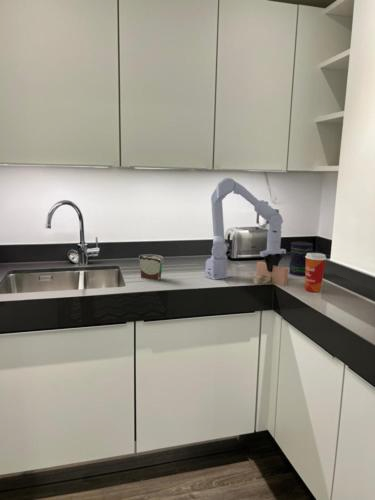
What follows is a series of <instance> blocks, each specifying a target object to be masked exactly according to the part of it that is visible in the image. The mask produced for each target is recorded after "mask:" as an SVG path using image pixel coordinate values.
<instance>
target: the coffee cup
mask: <svg viewBox="0 0 375 500" xmlns="http://www.w3.org/2000/svg"><path fill="white" fill-rule="evenodd" d="M305 258H306V271H305V276H304V278H305V279H304V282H305V283H304V290H305V292H309V293H315V294H316V293H317V294H318V293H320V292H321V290H322V285H323V284H322V283H323V279H324V272H325V268H326V266H325V265H326V260H327V256H326V254H323V253H320V252H312V253H307V254H306V256H305Z"/></svg>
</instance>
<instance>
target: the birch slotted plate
mask: <svg viewBox="0 0 375 500" xmlns="http://www.w3.org/2000/svg"><path fill="white" fill-rule="evenodd" d="M252 279H253V281H252V283H253V284H254V285H260V284H261V285H262V284H266V283H271V282H272V277H271V275H269V274H265V275H259V276H256V275H255V276H253V278H252ZM287 279H289V274H288V275H287ZM272 283H273V282H272Z"/></svg>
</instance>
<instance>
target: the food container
mask: <svg viewBox="0 0 375 500" xmlns="http://www.w3.org/2000/svg"><path fill="white" fill-rule="evenodd" d="M138 261H139V271H140V272H139V273H140V279H145V280H149V281H155V282H160V281H161V279H162V268H163V264H164V262H165V261H164V257H163V256H162V255H159V254H151V253H150V254H149V253H147V254H139V256H138Z"/></svg>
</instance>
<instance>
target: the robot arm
mask: <svg viewBox="0 0 375 500" xmlns="http://www.w3.org/2000/svg"><path fill="white" fill-rule="evenodd" d="M232 192H233V194H236V195H240V197H242V198H243V199H244V200H246V201H247V202H249V204H251V205H252V206H253V207H254V211H255V213H257V214H258V215H259V216H260V217H262V219H264V220H265V221H268V229H267V236H266V237H267V239H266V249H265V250H261V251H259V256H260V257H261V258H263V260H264V263H266V265H267V271H269V272H272V270H273V265H275V266H279V264H280V262H281V260H282V259H283V255H282V254H284V255H286V253H287V250H286V249H285V248H281V241H282V224H283V223H284V220H283V217H282V215H281V214H280V213H279V212H278V210H277V209H276V208H275V209H274V208H273V207H272V206H271V205H269V201H265V200H259V199H258V198H257V197H255V195H254V194H252V192H250V191H249V190H248V189H247V188H245V187H244V186H243V185H242V184H240V183H239V182H237V181H235V180H234V179H233V178H231V177H225V178H223V179H221V180H220V181H219V182H218V183H217V184H216V187H215V189H214V191H213V192H212V194H211V198H210V202H211V215H212V217H211V218H212V231H213V238H212V239H213V240H212V248H211V254H212V255H211V256H210V258H207V259H206V260H205V267H204V270H205V271H204V272H205V273H204V275H203V276H204V277H206V278H209V279H211V280H215V281H216V280H220V279H221V280H222V279H228V278H231V275H229V274H228V273H227V271H228V255H227V254H226V253H227V252H228V249H229V248H228V245H227V242H226V237H225V226H224V225H225V224H224V212H223V200H224V199H225V198H226V197H227V195H229V194H231V193H232Z"/></svg>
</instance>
